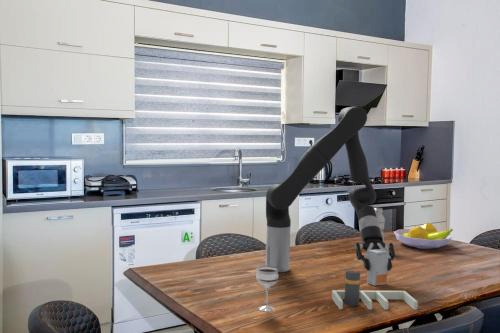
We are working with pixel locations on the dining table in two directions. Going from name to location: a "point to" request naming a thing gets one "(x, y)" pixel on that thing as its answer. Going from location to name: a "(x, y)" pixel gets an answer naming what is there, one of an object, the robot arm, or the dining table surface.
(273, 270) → the wineglass
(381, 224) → the plastic bottle
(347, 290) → the charcoal plug
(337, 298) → the rack
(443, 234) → the fruit bowl
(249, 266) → the dining table surface
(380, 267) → the skincare box
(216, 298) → the dining table surface
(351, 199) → the robot arm
